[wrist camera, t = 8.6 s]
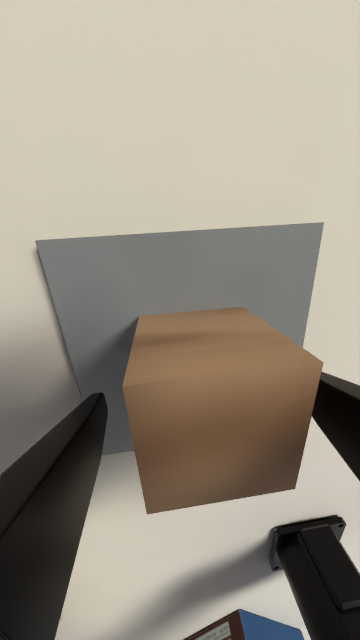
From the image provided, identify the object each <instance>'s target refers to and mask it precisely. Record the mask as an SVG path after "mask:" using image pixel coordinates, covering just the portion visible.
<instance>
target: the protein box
mask: <svg viewBox="0 0 360 640" xmlns="http://www.w3.org/2000/svg"><path fill="white" fill-rule="evenodd" d="M186 640H304V638H303V635H302V632H301V630H299V629H296V628H293V627H290V626H287V625H285V624H282V623H279V622H276V621H273V620H270V619H267V618H264V617H261V616H259V615H256V614H253V613H250V612H247V611H244V610H241V609H240V610H238V611H236V612H234V613H232V614H230V615H228V616H227V617H225V618H223V619H221V620H220V621H218V622H216V623H215V624H213V625H211V626H209V627H208V628H206V629H204V630H202V631H201V632H199V633H197V634H195V635H193V636H192V637H190V638H188V639H186Z"/></svg>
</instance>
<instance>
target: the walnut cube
mask: <svg viewBox="0 0 360 640" xmlns="http://www.w3.org/2000/svg"><path fill="white" fill-rule="evenodd" d="M322 367H323V362H322V361H320V360H319V359H318V358H316V357H315V356H313V355H312V354H310V353H309V352H308V351H306V350H305V349H303V348H302V347H300V346H299V345H298V344H296V343H295V342H293V341H292V340H290V339H289V338H288V337H286V336H285V335H283V334H282V333H280V332H279V331H278V330H276V329H275V328H273V327H272V326H270V325H269V324H268V323H266V322H265V321H263V320H262V319H261V318H259V317H258V316H256V315H255V314H253V313H252V312H251V311H249V310H248V309H246V308H245V307H233V308H222V309H211V310H200V311H189V312H178V313H167V314H155V315H144V316H139V319H138V323H137V327H136V331H135V336H134V340H133V344H132V348H131V352H130V356H129V361H128V365H127V369H126V373H125V377H124V381H123V386H122V387H123V392H124V398H125V403H126V408H127V413H128V418H129V423H130V429H131V434H132V439H133V444H134V449H135V454H136V459H137V465H138V470H139V475H140V480H141V485H142V490H143V496H144V501H145V506H146V511H147V514H152V513H158V512H163V511H169V510H175V509H181V508H187V507H192V506H198V505H204V504H210V503H216V502H222V501H227V500H233V499H239V498H245V497H251V496H257V495H262V494H268V493H274V492H280V491H286V490H292V489H295V487H296V482H297V478H298V473H299V469H300V464H301V460H302V455H303V451H304V447H305V442H306V438H307V433H308V429H309V424H310V420H311V415H312V411H313V407H314V402H315V398H316V393H317V389H318V384H319V380H320V375H321V371H322Z"/></svg>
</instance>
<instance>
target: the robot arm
mask: <svg viewBox="0 0 360 640" xmlns="http://www.w3.org/2000/svg"><path fill="white" fill-rule="evenodd" d="M107 417H108V408H107V404H106V399H105V395H104V393H102V392H99V393H92V394H91V395H90V396H89V397H87V398H86V399H85V400H84V401H83V402H82V403H81V404H80V405H78V406H77V407H76V408H75V409H74V410H73V411H72V412H71V413H69V414H68V415H67V416H66V417H65V418H64V419H63V420H62V421H60V422H59V423H58V424H57V425H56V426H55V427H54V428H53V429H51V430H50V431H49V432H48V433H47V434H46V435H45V436H44V437H42V438H41V439H40V440H39V441H38V442H37V443H36V444H35V445H33V446H32V447H31V448H30V449H29V450H28V451H27V452H26V453H25V454H23V455H22V456H21V457H20V458H19V459H18V460H17V461H16V462H14V463H13V464H12V465H11V466H10V467H9V468H8V469H7V470H5V471H4V472H3V473H2V474H1V475H0V640H54V639H55V636H56V632H57V628H58V624H59V620H60V616H61V612H62V608H63V604H64V601H65V597H66V593H67V589H68V585H69V581H70V577H71V573H72V569H73V566H74V562H75V558H76V554H77V550H78V546H79V542H80V538H81V535H82V531H83V527H84V523H85V519H86V515H87V511H88V507H89V503H90V500H91V496H92V492H93V488H94V484H95V480H96V476H97V472H98V468H99V465H100V460H101V456H102V450H103V444H104V437H105V430H106V424H107ZM312 417H313V418H314V420H315V421H316V423H317V424H318V426H319V427H320V429H321V430H322V431H323V433H324V434H325V435H326V437H327V438H328V439H329V441H330V442H331V443H332V445H333V446H334V447H335V449H336V450H337V451H338V453H339V454H340V455H341V457H342V458H343V459H344V461H345V462H346V463H347V465H348V466H349V467H350V469H351V470H352V472H353V473H354V474H355V476H356V477H357V478H358V480H359V481H360V386H359V385H357V384H354V383H351V382H348V381H346V380H343V379H340V378H337V377H335V376H332V375H329V374H326V373H324V372H321V375H320V380H319V384H318V389H317V393H316V398H315V402H314V407H313V411H312ZM345 526H346V523H345V521H344V520H343V518H342V517H336V518H331V519H325V520H320V521H315V522H310V523H304V524H299V525H294V526H289V527H284V528H279V529H277V530H276V532H275V537H274V542H273V547H272V553H271V558H270V566H271V569H272V570H273V571H277V570H281V569H284V572H285V574H286V577H287V579H288V582H289V584H290V587H291V590H292V592H293V595H294V597H295V600H296V602H297V605H298V607H299V610H300V612H301V615H302V618H303V620H304V623H305V625H306V628H307V630H308V633H309V635H310V638H311V640H360V573H359V572H358V570H357V568H356V567H355V565H354V564H353V562H352V560H351V559H350V557H349V556H348V554H347V552H346V551H345V549H344V547H343V546H342V544H341V543H340V539H341V536H342V534H343V531H344V529H345Z"/></svg>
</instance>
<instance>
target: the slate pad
mask: <svg viewBox="0 0 360 640" xmlns="http://www.w3.org/2000/svg"><path fill="white" fill-rule="evenodd" d="M323 225H324V222H322V223H306V224H290V225H275V226H259V227H243V228H227V229H211V230H195V231H179V232H163V233H148V234H132V235H116V236H100V237H84V238H68V239H52V240H37V241H35V242H36V245H37V248H38V252H39V255H40V259H41V262H42V265H43V269H44V272H45V275H46V279H47V282H48V286H49V289H50V292H51V296H52V299H53V303H54V306H55V309H56V313H57V316H58V319H59V323H60V326H61V330H62V333H63V336H64V340H65V343H66V346H67V350H68V353H69V357H70V360H71V363H72V367H73V370H74V374H75V377H76V380H77V384H78V387H79V390H80V394H81V397H82V401H84V400H85V399H86V398H87V397H89V396H90V395H91V394H92V393H99V392H102V393H104V395H105V399H106V404H107V408H108V417H107V424H106V430H105V437H104V444H103V450H102V455H106V454H113V453H120V452H127V451H133V450H135V449H134V444H133V439H132V434H131V429H130V423H129V418H128V413H127V408H126V403H125V398H124V392H123V387H122V386H123V381H124V377H125V373H126V369H127V365H128V361H129V356H130V352H131V348H132V344H133V340H134V336H135V331H136V327H137V323H138V319H139V316H144V315H155V314H167V313H178V312H189V311H200V310H211V309H222V308H233V307H245V308H246V309H248V310H249V311H251V312H252V313H253V314H255V315H256V316H258V317H259V318H261V319H262V320H263V321H265V322H266V323H268V324H269V325H270V326H272V327H273V328H275V329H276V330H278V331H279V332H280V333H282V334H283V335H285V336H286V337H288V338H289V339H290V340H292V341H293V342H295V343H296V344H298V345H299V346H300V347H302V348H303V342H304V336H305V330H306V324H307V318H308V313H309V307H310V301H311V295H312V289H313V283H314V277H315V272H316V266H317V260H318V254H319V248H320V242H321V236H322V231H323Z"/></svg>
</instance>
